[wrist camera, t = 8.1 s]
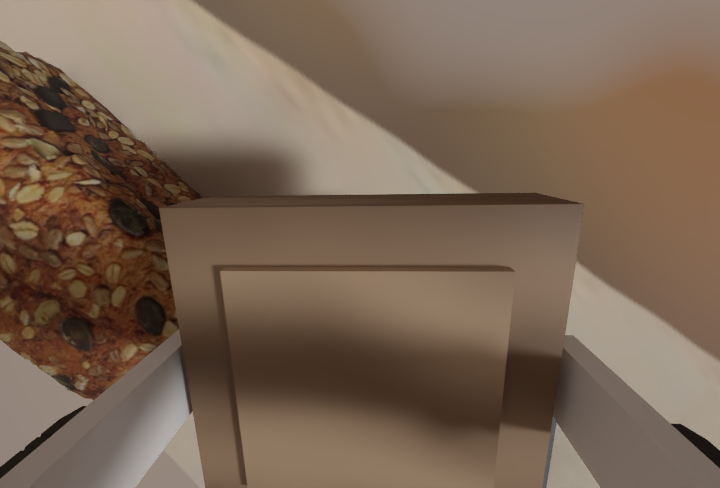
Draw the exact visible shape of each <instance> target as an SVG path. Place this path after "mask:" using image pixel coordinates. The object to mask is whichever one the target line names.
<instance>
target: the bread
mask: <svg viewBox="0 0 720 488" xmlns="http://www.w3.org/2000/svg"><path fill="white" fill-rule="evenodd" d="M201 198H202V197H201V196H200V195H199V194H198V193H197V192H195V191H194V190H193V189H191V188H190V187H189V186H188V184H187V183H186V182H184V181H182V180H181V179H180V178H179V177H178V176H177V175H176V174H175V172H174V171H173V170H171V169H170V168H168V167H167V165H166V164H165V162H163V161H162V160H161V159H160V158H158V157H157V156H156V155H154V154H153V152H152V151H151V149H150V148H149V147H148V146H146V145H145V144H144V143H143V142H141V141H139V140H136V139H135V138H134V136H133V133H132V131H131V130H129V129H128V128H127V127H126V126H125V125H123V124H122V123H121V122H120V121H119V120H118V119H117V118H116V117H115V116H114V115H113V114H112V113H111V112H110V111H109V110H108V109H106V108H105V107H104V106H103V105H102V104H100V103H99V102H98V101H97V100H96V99H95V98H93V97H92V96H91V95H90V94H89V93H88V92H86V91H85V90H84V89H83V88H81V87H80V86H79V85H77V84H76V83H75V82H73V81H72V80H71V79H70V78H69V77H68V76H67V75H66V74H65V73H64V72H63V71H62V70H61V69H59V68H56V67H54V66H53V65H51V64H48V63H46V62H45V61H43V60H42V59H40V58H36V57H33V56H32V55H30V54H29V53H27V52H23V53H21V52H15V51H13V50H12V49H11V48H10V47H9V46H8V45H6V44H5V43H3V42H1V41H0V340H2V341H3V342H4V343H5V344H6V345H8V346H9V347H10V348H11V349H12V350H14V351H15V352H17V353H18V354H19V355H21V356H22V357H24V358H25V359H28V360H30V361H31V362H32V363H33V364H35V365H37V366H38V368H39V369H41V370H42V371H44V372H45V373H47V374H48V375H50V376H51V377H53V378H54V379H55V380H56V381H58V382H59V383H60V384H62V385H63V386H65V387H66V388H67V390H70V391H72V392H75V393H77V394H79V395H80V396H82V397H84V398H90V399H93V401H94V400H95V399H96V398H97V397H98V396H100V395H101V394H102V393H103V392H104V391H106V390H107V389H108V388H109V387H110V386H112V385H113V384H114V383H115V382H116V381H118V380H119V379H120V378H121V377H122V376H124V375H125V374H126V373H127V372H128V371H130V370H131V369H132V368H133V367H134V366H136V365H137V364H138V363H139V362H140V361H141V360H143V359H144V358H145V357H146V356H147V355H149V354H150V353H151V352H152V351H153V350H155V349H156V348H157V347H158V346H159V345H161V344H162V343H163V342H164V341H165V340H167V339H168V338H169V337H170V336H171V335H173V334H174V333H175V332H176V331H177V330H179V326H178V320H177V314H176V308H175V302H174V296H173V290H172V284H171V278H170V272H169V266H168V260H167V254H166V248H165V242H164V236H163V230H162V224H161V218H160V212H159V208H162V207H167V206H171V205H175V204H180V203H184V202H188V201H192V200H197V199H201Z"/></svg>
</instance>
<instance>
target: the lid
mask: <svg viewBox="0 0 720 488" xmlns="http://www.w3.org/2000/svg"><path fill="white" fill-rule="evenodd" d="M583 208H584V204H581V203H577V202H572V201H569V200H564V199H559V198H555V197H551V196H547V195H542V194H538V193H477V194H392V195H307V196H223V197H205V198H201V199H197V200H192V201H188V202H184V203H180V204H175V205H171V206H167V207H162V208H159V212H160V218H161V224H162V230H163V236H164V242H165V248H166V254H167V260H168V266H169V272H170V278H171V284H172V290H173V296H174V302H175V308H176V314H177V320H178V326H179V332H180V338H181V344H182V350H183V356H184V362H185V368H186V374H187V380H188V386H189V392H190V398H191V404H192V410H193V415H194V421H195V427H196V433H197V439H198V445H199V451H200V457H201V463H202V469H203V475H204V481H205V487H206V488H542V487H543V480H544V473H545V466H546V459H547V453H548V446H549V439H550V432H551V426H552V419H553V412H554V405H555V399H556V392H557V385H558V378H559V371H560V365H561V358H562V351H563V344H564V338H565V331H566V324H567V317H568V311H569V304H570V297H571V290H572V283H573V277H574V270H575V263H576V256H577V249H578V243H579V236H580V229H581V222H582V215H583Z"/></svg>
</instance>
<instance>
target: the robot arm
mask: <svg viewBox="0 0 720 488" xmlns="http://www.w3.org/2000/svg"><path fill="white" fill-rule="evenodd" d="M192 411H193V410H192V404H191V398H190V392H189V386H188V380H187V374H186V368H185V362H184V356H183V350H182V344H181V338H180V332H179V330H177V331H176V332H175V333H174V334H173V335H171V336H170V337H169V338H168V339H167V340H165V341H164V342H163V343H162V344H161V345H159V346H158V347H157V348H156V349H155V350H153V351H152V352H151V353H150V354H149V355H147V356H146V357H145V358H144V359H143V360H141V361H140V362H139V363H138V364H137V365H136V366H134V367H133V368H132V369H131V370H130V371H128V372H127V373H126V374H125V375H124V376H122V377H121V378H120V379H119V380H118V381H116V382H115V383H114V384H113V385H112V386H110V387H109V388H108V389H107V390H106V391H104V392H103V393H102V394H101V395H100V396H98V397H97V398H96V399H95V400H94V401H93V402H91V403H90V404H89V405H88V406H82V407H80V408H79V409H77V410H75V411H73V412H72V413H70V414H68V415H67V416H64V417H63V418H61V419H59V420H58V421H57V422H56V423H54V424H53V425H52V426H51V427H49V428H48V429H47V430H46V431H45V432H43V433H42V434H41V437H37V438H36V439H35V440H33V441H32V442H31V443H30V444H29V445H27V446H26V447H25V449H24V451H20V452H19V453H17V454H16V455H15V456H14V457H12V458H11V459H10V460H9V461H7V462H6V463H5V464H4V465H2V466H1V467H0V488H135V487H136V486H137V484H138V483H139V482H140V480H141V479H142V478H143V476H144V475H145V474H146V472H147V471H148V470H149V468H150V467H151V466H152V464H153V463H154V462H155V460H156V459H157V458H158V456H159V455H160V454H161V452H162V451H163V450H164V448H165V447H166V446H167V444H168V443H169V442H170V440H171V439H172V438H173V436H174V435H175V434H176V432H177V431H178V430H179V428H180V427H181V426H182V424H183V423H184V422H185V420H186V419H187V418H188V416H189V415H190V414H191V412H192ZM553 417H554V419H555V420H556V422H557V423H558V425H559V426H560V428H561V429H562V431H563V432H564V434H565V435H566V437H567V438H568V440H569V441H570V443H571V444H572V446H573V447H574V449H575V450H576V452H577V453H578V454H579V456H580V457H581V459H582V460H583V462H584V463H585V465H586V466H587V468H588V469H589V471H590V472H591V474H592V475H593V477H594V478H595V480H596V481H597V483H598V484H599V486H600V487H601V488H720V450H718V449H717V448H716V447H715V446H714V445H712V444H711V443H710V442H709V441H708V440H706V439H705V438H703V437H701V436H700V435H698V434H696V433H695V432H693V431H691V430H690V429H688V428H686V427H685V426H683V425H681V424H670V423H669V422H668V421H667V420H666V419H665V418H664V417H662V416H661V415H660V414H659V413H658V412H657V411H656V410H655V409H654V408H653V407H651V406H650V405H649V404H648V403H647V402H646V401H645V400H644V399H643V398H641V397H640V396H639V395H638V394H637V393H636V392H635V391H634V390H633V389H632V388H630V387H629V386H628V385H627V384H626V383H625V382H624V381H623V380H622V379H621V378H619V377H618V376H617V375H616V374H615V373H614V372H613V371H612V370H611V369H610V368H608V367H607V366H606V365H605V364H604V363H603V362H602V361H601V360H600V359H599V358H597V357H596V356H595V355H594V354H593V353H592V352H591V351H590V350H589V349H588V348H586V347H585V346H584V345H583V344H582V343H581V342H580V341H579V340H578V339H577V338H575V337H574V336H572V335H565V338H564V344H563V351H562V358H561V365H560V371H559V378H558V385H557V392H556V399H555V405H554V412H553Z"/></svg>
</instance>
